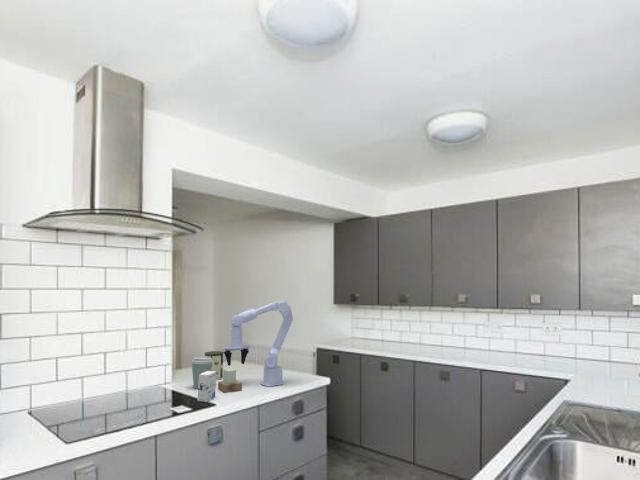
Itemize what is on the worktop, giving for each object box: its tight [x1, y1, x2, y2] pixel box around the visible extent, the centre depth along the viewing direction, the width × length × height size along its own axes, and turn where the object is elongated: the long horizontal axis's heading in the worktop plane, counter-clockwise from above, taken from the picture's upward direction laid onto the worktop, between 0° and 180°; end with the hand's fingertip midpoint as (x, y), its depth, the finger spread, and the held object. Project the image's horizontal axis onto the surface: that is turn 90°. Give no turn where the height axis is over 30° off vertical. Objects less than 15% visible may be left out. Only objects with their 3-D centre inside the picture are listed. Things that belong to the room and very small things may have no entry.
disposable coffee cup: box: [190, 356, 213, 390], centre depth 216 cm, size 11×11×15 cm
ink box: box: [197, 371, 217, 403], centre depth 194 cm, size 9×5×12 cm, turn 168°
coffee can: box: [204, 350, 224, 381], centre depth 237 cm, size 10×10×14 cm
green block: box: [222, 368, 237, 384], centre depth 211 cm, size 4×4×6 cm
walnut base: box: [217, 379, 243, 394], centre depth 211 cm, size 9×9×4 cm
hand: (235, 364), depth 222 cm, fingers open, 7 cm apart
